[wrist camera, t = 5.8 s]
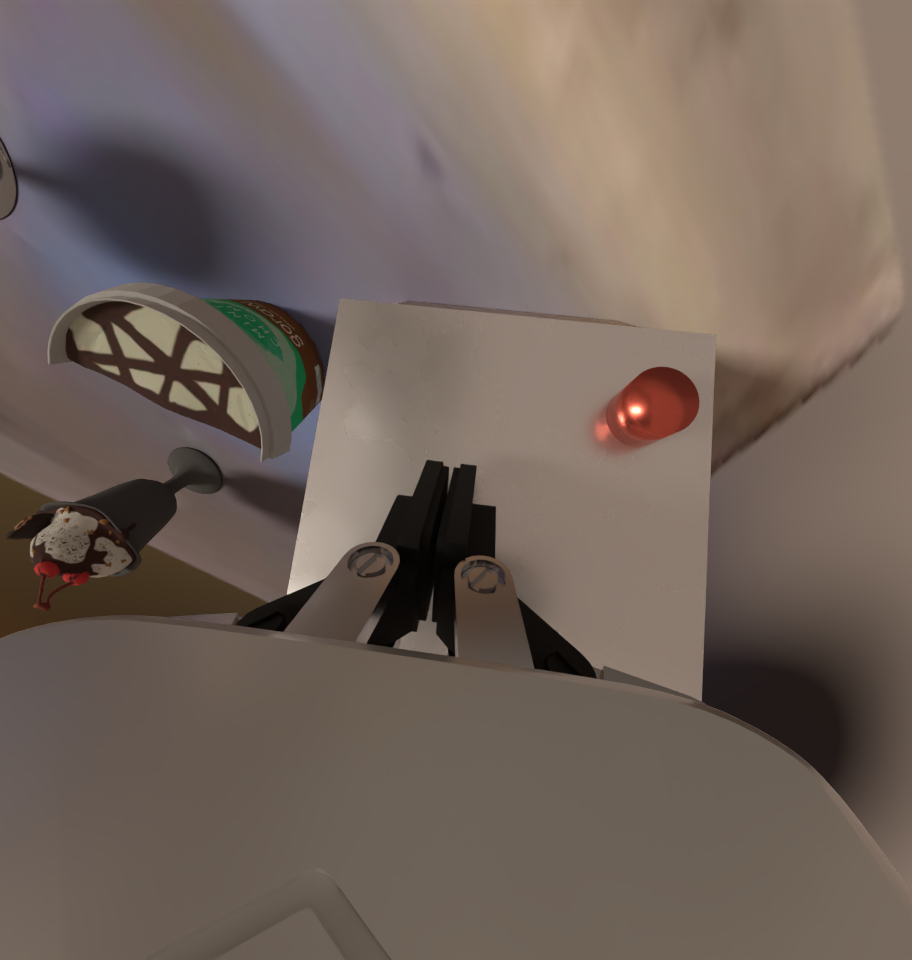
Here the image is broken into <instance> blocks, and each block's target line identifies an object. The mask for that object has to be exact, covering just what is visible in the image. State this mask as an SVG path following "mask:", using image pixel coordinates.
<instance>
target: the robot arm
mask: <svg viewBox="0 0 912 960" xmlns="http://www.w3.org/2000/svg"><path fill="white" fill-rule="evenodd" d="M476 470H477V465H468V464H461V465H460V468H457V467H454V469H453V473H452V477H451V481H450V486H449V490H448V479H449V467H448V466H444V464H443V462H442V461H433V460H427V461H426V463H425V465H424V468H423V470H422V473H421V476H420V478H419V481H418V483H417V486H416V488H415V491H414V493H413V496H406V495H397V497H396V499H395V501H394V503H393V505H392V507H391V509H390V512H389V514H388V516H387V518H386V520H385V522H384V524H383V527H382V529H381V531H380V533H379V535H378V537H377V539H376V542H367V543H363V544H359V545H357V546H355V547H353V548H351V549H350V550H349V551H348V552H347V553H346V554H345V555H344V556H343V557H342V558H341V560H340V561H339V562H338V563H337V565H336V566H335V567H334V568H333V570H332V571H331V572H330V574H329V575H328V576H327V577H326V578H325V579H323V580H320V581H318V582H316V583H313V584H311V585H309V586H307V587H304V588H302V589H300V590H297V591H295V592H293V593H290V594H288V595H286V596H284V597H281V598H279V599H277V600H274V601H272V602H270V603H267V604H265V605H263V606H261V607H258V608H256V609H255V610H253V611H251V612H249V613H247V614H246V615H245V616H244V617H241V618H239V616H238V614H237V613H228V614H227V613H226V614H210V615H195V616H194V615H193V616H177V617H151V616H119V615H116V616H103V617H88V618H79V619H73V620H67V621H61V622H55V623H50V624H46V625H42V626H38V627H34V628H30V629H27V630H23V631H20V632H17V633H13V634H10V635H8V636H6V637H3V638H1V639H0V960H912V893H911V891H910V890H909V888H908V887H907V886H906V884H905V883H904V881H903V880H902V879H901V877H900V876H899V874H898V873H897V871H896V870H895V868H894V867H893V866H892V864H891V863H890V862H889V860H888V859H887V857H886V856H885V854H884V853H883V852H882V850H881V849H880V848H879V847H878V845H877V844H876V842H875V841H874V840H873V838H872V837H871V836H870V834H869V833H868V832H867V830H866V829H865V828H864V826H863V825H862V824H861V822H860V821H859V820H858V818H857V817H856V816H855V814H854V813H853V812H852V811H851V809H850V808H849V807H848V806H847V805H846V803H845V802H844V801H843V800H842V799H841V797H840V796H839V795H838V794H837V793H836V792H835V790H834V789H833V788H832V787H831V786H830V785H829V784H828V783H827V782H826V780H825V779H824V778H823V777H822V776H821V775H820V774H819V773H818V772H817V771H816V770H815V769H814V768H812V766H811V765H810V764H808V763H807V762H806V761H804V759H802V758H801V757H800V756H799V755H797V754H796V753H795V752H794V751H792V750H791V749H789V748H788V747H786V746H785V745H783V744H782V743H780V742H779V741H777V740H776V739H774V738H772V737H771V736H769V735H767V734H766V733H764V732H762V731H760V730H759V729H757V728H755V727H753V726H751V725H749V724H747V723H745V722H743V721H741V720H739V719H737V718H735V717H733V716H731V715H729V714H727V713H725V712H722V711H720V710H717V709H714V708H712V707H709V706H707V705H706V704H704V703H703V702H701V701H699V700H697V699H695V698H693V697H691V696H689V695H686V694H683V693H680V692H677V691H674V690H672V689H669V688H666V687H663V686H660V685H658V684H655V683H652V682H649V681H646V680H643V679H641V678H638V677H635V676H632V675H629V674H627V673H624V672H621V671H618V670H615V669H612V668H610V667H607V666H603V668H602V670H601V669H598V668H595V667H592V665H591V664H590V662H589V661H588V660H587V659H586V658H585V657H584V656H583V654H582V653H580V652H579V651H578V650H577V649H576V648H575V647H574V646H572V645H571V644H570V643H569V642H568V641H567V640H566V639H564V638H563V637H562V636H561V635H560V634H559V633H558V632H557V631H555V630H554V629H553V628H552V627H551V626H550V625H549V624H547V623H546V622H545V621H544V620H543V619H542V618H541V617H540V616H538V615H537V614H536V613H535V612H534V611H533V610H532V609H530V608H529V607H528V606H527V605H526V604H525V603H524V602H523V601H521V600H520V599H519V598H518V597H517V594H516V590H515V586H514V582H513V577H512V575H511V572H510V570H509V569H508V568H507V567H506V566H505V564H503V563H502V562H500V561H499V560H497V559H495V542H496V506H489V505H481V504H473V495H474V487H475V478H476ZM447 493H448V494H447ZM433 587H434V589H433ZM432 592H433V606H432V622H436V623H437V626H436V635H437V636H438V637H439V638H440V640H441V641H442V642H443V643H444V644H445V646H446V647H447V655H440V654H433V653H426V652H419V651H412V650H405V649H399V646H400V642H401V638H402V637H403V636H405V635H407V634H408V633H410V632H411V631H413V632H417V629H418V625H419V621H420V620H421V621H426V620H427V616H428V611H429V606H430V602H431V597H432Z"/></svg>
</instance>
